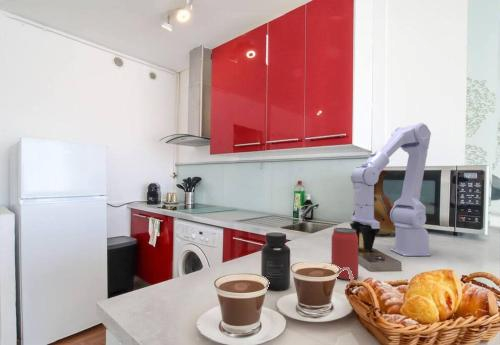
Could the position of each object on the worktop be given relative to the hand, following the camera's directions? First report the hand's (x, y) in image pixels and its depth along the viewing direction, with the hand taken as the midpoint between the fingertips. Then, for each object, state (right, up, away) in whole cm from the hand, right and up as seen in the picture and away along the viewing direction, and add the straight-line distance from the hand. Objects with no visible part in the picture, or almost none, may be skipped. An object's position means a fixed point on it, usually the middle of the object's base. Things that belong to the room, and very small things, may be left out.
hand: (364, 247), depth 85 cm
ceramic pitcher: (+22, -5, +40) cm, 46 cm away
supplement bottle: (-30, -3, -22) cm, 38 cm away
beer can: (-12, -3, -16) cm, 20 cm away
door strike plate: (0, -3, 0) cm, 3 cm away
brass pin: (0, -3, 0) cm, 3 cm away
